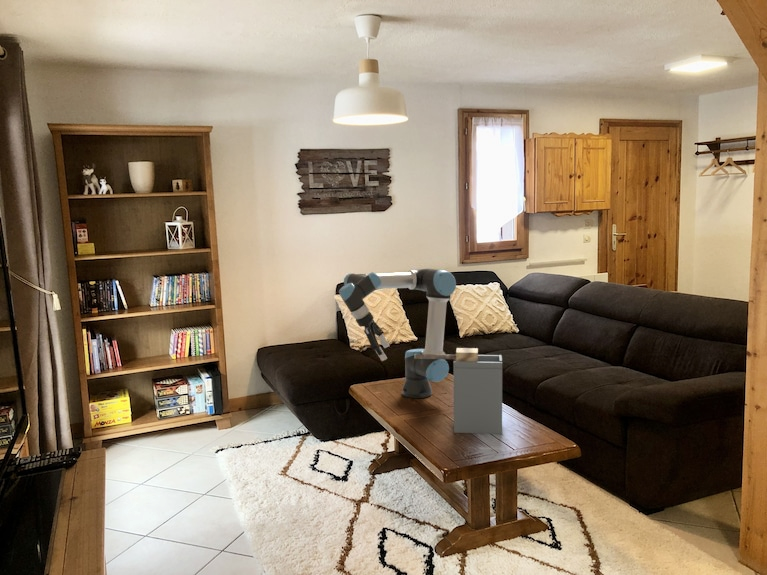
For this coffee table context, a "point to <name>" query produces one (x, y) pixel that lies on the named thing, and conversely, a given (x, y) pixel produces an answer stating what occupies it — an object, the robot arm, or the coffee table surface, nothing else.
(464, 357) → the maple block
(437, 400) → the coffee table surface
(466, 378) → the shelf
